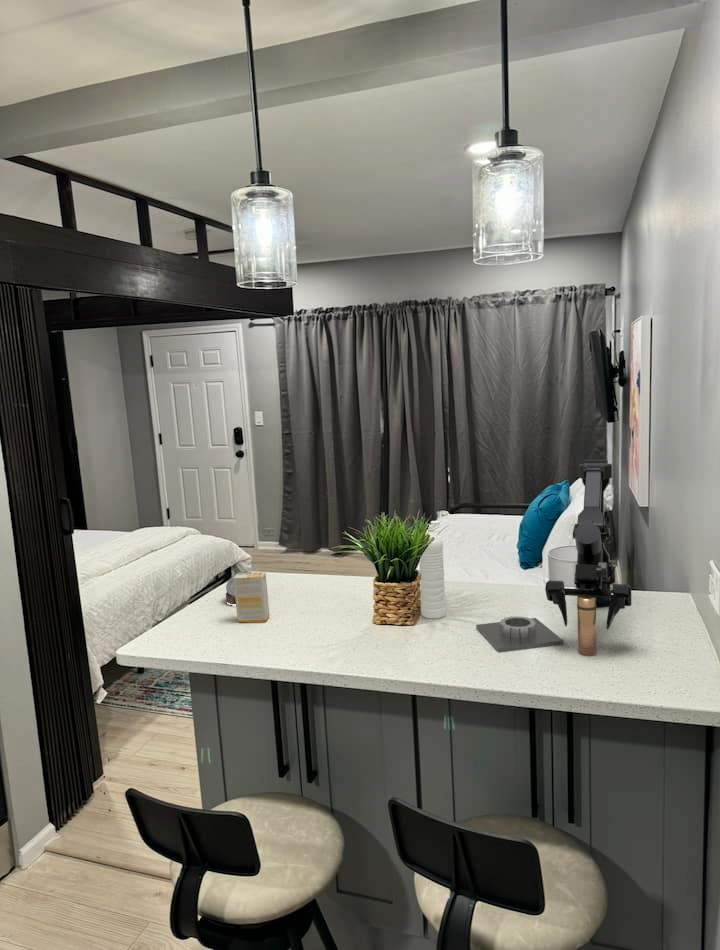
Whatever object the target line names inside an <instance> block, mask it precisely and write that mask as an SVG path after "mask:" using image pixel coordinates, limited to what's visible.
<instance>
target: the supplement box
mask: <svg viewBox="0 0 720 950" xmlns="http://www.w3.org/2000/svg"><path fill="white" fill-rule="evenodd" d="M237 573H238V574H237ZM237 573H236V574H237V575H236V576H235V577H234V578H233V579H234V589H235V599H236V607H235V608H236V618H237V623H238V622H247V623H266V622H267V621H268V620H269V618H270V617H269V616H270V606H269V596H268V595H269V593H268V586H267V585H268V583H267V574H266V573H267V572H266V571H259V572H258V571H257V572H252V573H239V572H237ZM267 619H268V620H267Z"/></svg>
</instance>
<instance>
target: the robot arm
mask: <svg viewBox="0 0 720 950" xmlns="http://www.w3.org/2000/svg"><path fill="white" fill-rule="evenodd" d="M613 471H614V469H613V463H609V462H608V459H584V463H580V464H579V465H578V474H579V475H578V478H579V479H581V482H582V484H583V486H584V496H583V509H582V511H580V512H579V514H578V515H577V521H576V523H575V524H574V526H573V531H572V538H573V540H575V549H576V550H577V551H576V552H577V558H576V564H575V570H574V571H575V572H574V580H573V581H574V582H573V583H574V585H575V586H574V587H572V586H565V582H564V581H563V580H549V579H548V581H546V583H545V587H544V589H545V590H544V591H545V595H546V599H547V601H549V602H552V603H553V605H558V608H559V609H558V610H560V614H561V616H562V620H563V623H564V626H565V627H567V626H568V611H567V610H568V609H567V601H566V596H571V597H578V596H580V595H592V596H595V597H596V608H599V607H600V608H601V607H602V608H603V607H608V611H607V618H606V630H609V629H610V628H611V627H612V623H613V621H614V619H615V618H616V616H617V614H618V613H619V611H620V610H623V609H625V608H626V607H631V606H632V587H631V586H630V584H625V583H624V584H622V583H616V568H615V566H614V565H613V562H612V561H610V559H611V558H610V553H609V552H608V551H607V549H606V548H605V541H607V540H608V538H610V536H611V529H610V528H609V526H608V524H606V521H605V514H604V513H605V491H606V490H607V488H608V486H609V485H610V483H611V479H612V478H613V474H614V473H613ZM611 586H612V589H610V588H611Z"/></svg>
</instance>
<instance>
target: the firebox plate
mask: <svg viewBox="0 0 720 950" xmlns="http://www.w3.org/2000/svg"><path fill="white" fill-rule="evenodd" d="M475 629H476V630H477V631H478V632H479V633H480V635H481V636H483V637H484V639H485V640H486V641H487V642H488V643H489V644H490V645H491V646H492V647H493V648H494V649H495V650H496V651H497V652H498V653H502V652H503V653H504V652H511V651H518V650H519V651H520V650H528V649H535V648H545V647H552V646H553V647H554V646H560V645H564V640H563V639H562V638H561V637H560V636H559V635H557V634H556V633H555V632H554V631H552V629H550V628H549V627H548V626H546V625H545V624H544V623H543V622H542V621H540V619H537V618H536V617H532V618H531V617H527V616H519V615H518V616H517V615H516V616H515V615H514V616H507V617H504V618H502V619H500V621H497V622H489V623H480V624H475Z"/></svg>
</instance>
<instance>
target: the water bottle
mask: <svg viewBox="0 0 720 950" xmlns="http://www.w3.org/2000/svg"><path fill="white" fill-rule="evenodd" d="M428 525H429V527H428V534H429V535H430V536H432V537H434V538H436V539H435V540H434V541H433V542H432V543H431V544H430V545H429V546H428V547H427V549H426V550H425V552H424V554H423V555H422V557H421V558H420V561H419V562H418V563H419V573H420V572H421V575H422V576H421V585H420V587H421V590H420V606H421V607H420V609H421V616H422V617H423V618H426V619H431V620H433V619H434V620H437V619H441V618H443V617H445V616H446V611H447V610H446V599H445V597H446V593H445V589H446V588H445V567H444V547H443V546H444V543H443V539H442V538H441V536H440V535H439V534H438V533H437V531H436V530H435V529H436V528H435V527H437V526H438V527H439V526H440V525H441V522H440V520H431V521H430V524H428ZM437 535H438V537H437Z"/></svg>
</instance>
